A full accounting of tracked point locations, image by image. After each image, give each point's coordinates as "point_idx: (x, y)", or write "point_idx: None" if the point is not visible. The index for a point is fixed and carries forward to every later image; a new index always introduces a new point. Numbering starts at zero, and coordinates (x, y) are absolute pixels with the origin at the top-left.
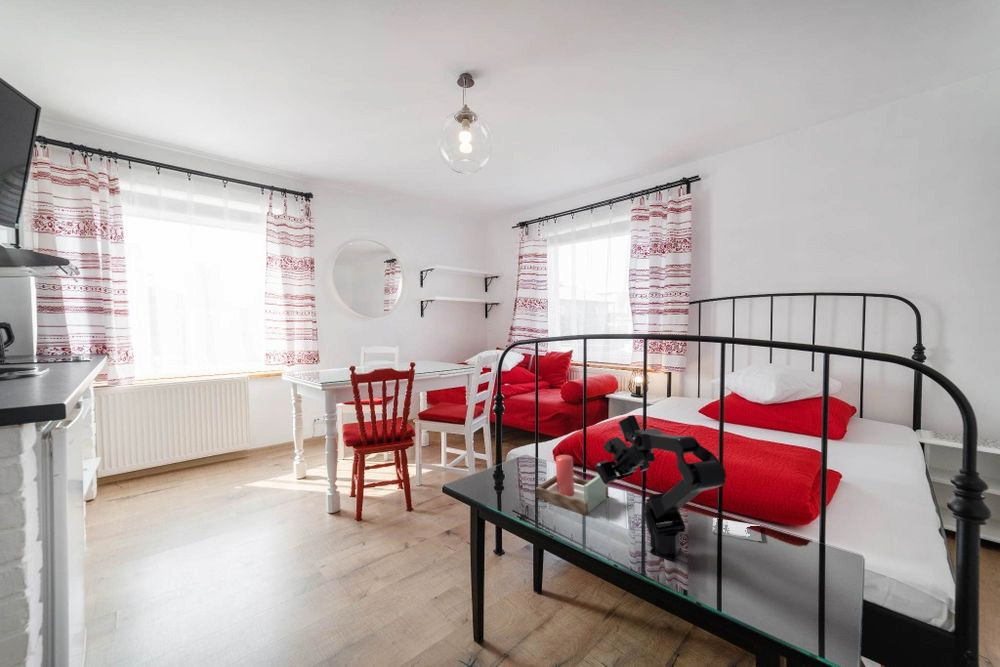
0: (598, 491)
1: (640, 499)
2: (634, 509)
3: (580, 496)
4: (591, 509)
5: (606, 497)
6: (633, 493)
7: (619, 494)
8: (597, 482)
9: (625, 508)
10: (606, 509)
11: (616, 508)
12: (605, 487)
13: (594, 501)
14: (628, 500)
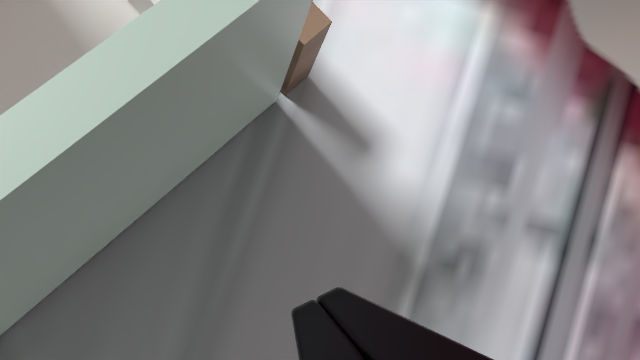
0: (156, 159)
1: (567, 183)
2: None
3: (6, 36)
4: (32, 305)
5: (283, 91)
6: (540, 70)
7: (421, 56)
8: (131, 125)
9: None
10: (205, 305)
11: None
12: (291, 53)
13: (79, 249)
14: (464, 178)
